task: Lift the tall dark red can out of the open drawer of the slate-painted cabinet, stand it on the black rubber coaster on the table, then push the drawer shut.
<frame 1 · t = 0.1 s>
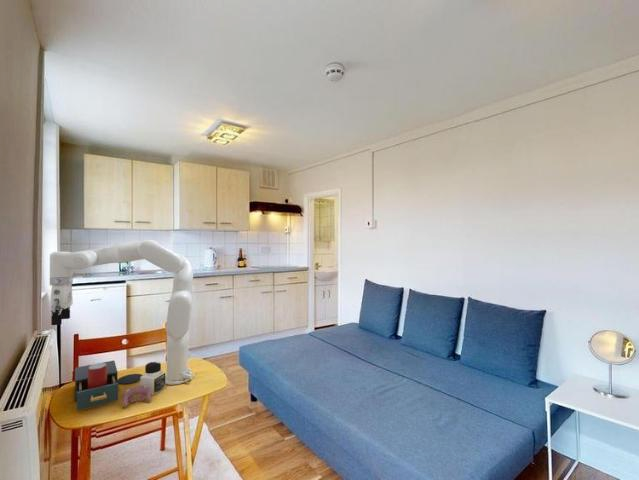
hand: (61, 321, 134), 31 cm above the table, tool pointing down, fingers open, 9 cm apart
drawer: (97, 391, 129), point 4 cm above the table, slide at 9.5 cm, touching can
medicine bottle: (152, 390, 140), on the table
can: (97, 396, 130), point 2 cm above the table, touching drawer
video game controller: (137, 402, 130), on the table
cabinet: (96, 389, 140), on the table
coaster: (130, 379, 150), on the table
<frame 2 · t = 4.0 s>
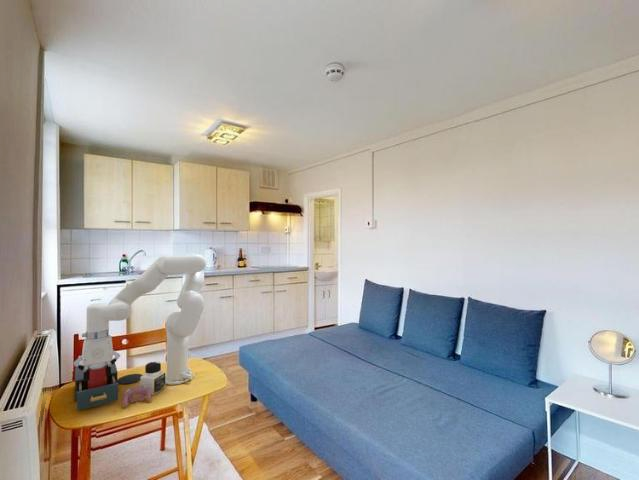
hand: (97, 377, 130), 10 cm above the table, tool pointing down, fingers closed on can, 6 cm apart
can: (97, 396, 130), point 2 cm above the table, touching drawer, gripper
everything else where it was.
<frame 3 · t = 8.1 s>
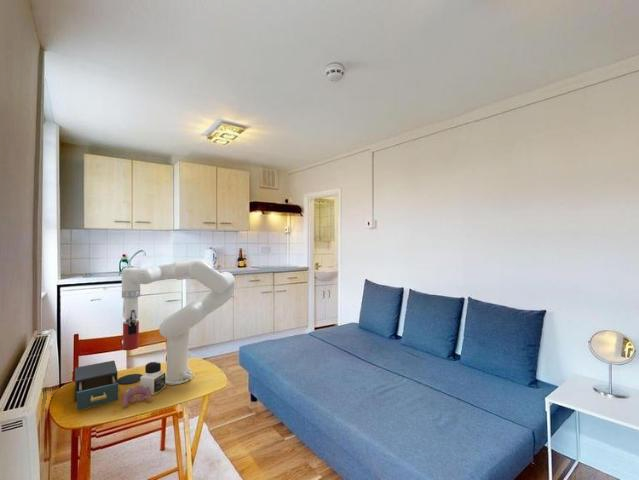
hand: (130, 331, 149), 23 cm above the table, tool pointing down, fingers closed on can, 6 cm apart
drawer: (97, 391, 129), point 4 cm above the table, slide at 9.5 cm
can: (130, 348, 149), point 15 cm above the table, touching gripper
everything else where it was.
when the fingers open (8 cm above the table, at t = 12.0 s): can stays where it is, resting on coaster.
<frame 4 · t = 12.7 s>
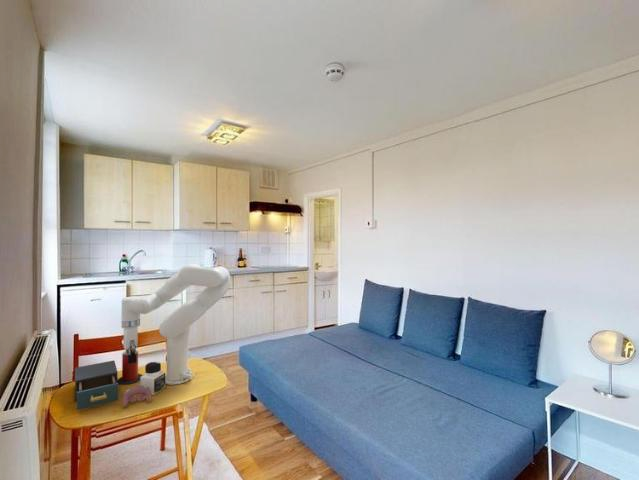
hand: (131, 359, 150), 9 cm above the table, tool pointing down, fingers open, 9 cm apart
can: (130, 378, 150), resting on coaster
everything else where it was.
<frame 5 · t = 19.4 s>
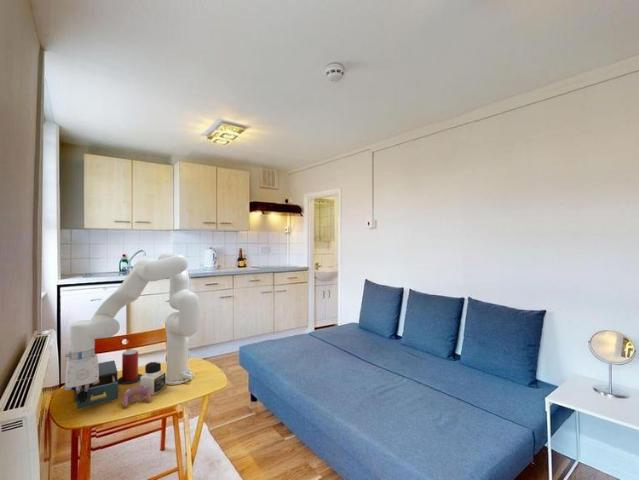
hand: (82, 401, 122), 4 cm above the table, tool pointing down, fingers closed
drawer: (97, 390, 130), point 4 cm above the table, slide at 8.5 cm, touching gripper
everything else where it was.
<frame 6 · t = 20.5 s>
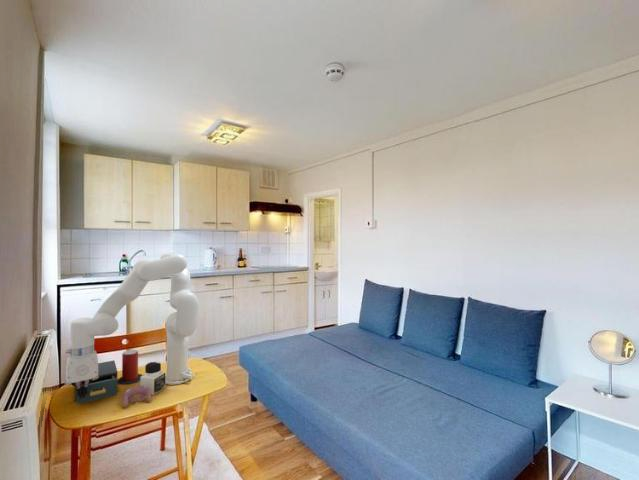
hand: (82, 396, 125), 4 cm above the table, tool pointing down, fingers closed
drawer: (96, 386, 134), point 4 cm above the table, slide at 4.1 cm, touching gripper
everything else where it was.
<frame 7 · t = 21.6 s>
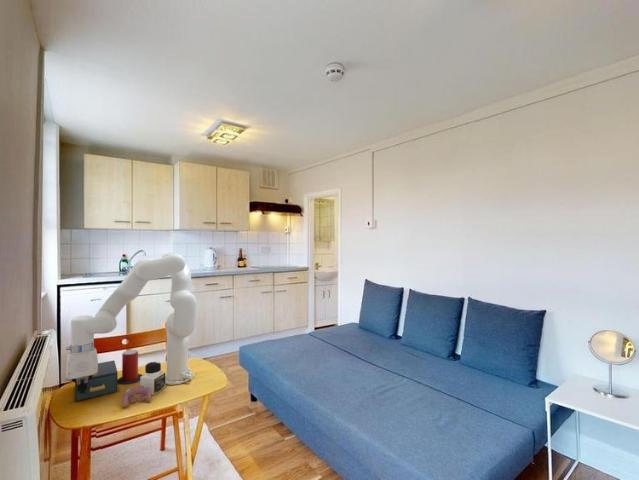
hand: (82, 392, 129), 4 cm above the table, tool pointing down, fingers closed
drawer: (96, 382, 137), point 4 cm above the table, slide at 0.0 cm, touching cabinet, gripper
everything else where it was.
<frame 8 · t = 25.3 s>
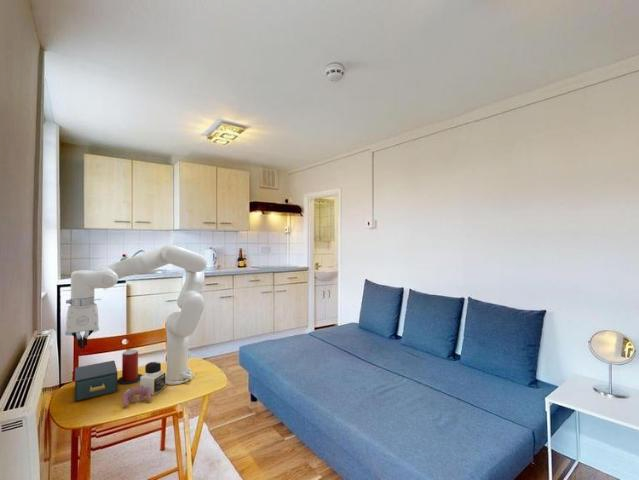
hand: (82, 347, 126), 23 cm above the table, tool pointing down, fingers closed
drawer: (96, 382, 137), point 4 cm above the table, slide at 0.0 cm, touching cabinet
everything else where it was.
at the end: can 0.1 cm off-centre on the coaster, point 0.5 cm above the coaster's base; can tilted 0°; drawer slide at 0.0 cm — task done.
